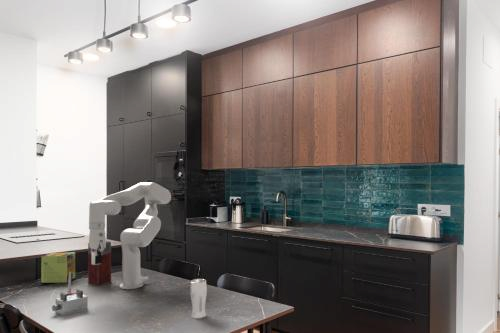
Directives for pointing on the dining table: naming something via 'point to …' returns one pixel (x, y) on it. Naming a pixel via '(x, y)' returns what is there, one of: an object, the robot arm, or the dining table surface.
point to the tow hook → (69, 286)
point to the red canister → (100, 267)
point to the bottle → (93, 257)
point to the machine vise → (71, 303)
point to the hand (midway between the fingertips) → (96, 262)
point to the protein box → (57, 267)
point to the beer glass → (198, 297)
